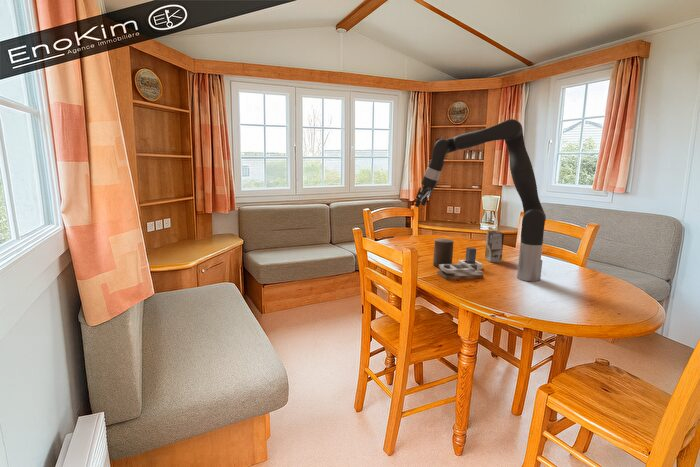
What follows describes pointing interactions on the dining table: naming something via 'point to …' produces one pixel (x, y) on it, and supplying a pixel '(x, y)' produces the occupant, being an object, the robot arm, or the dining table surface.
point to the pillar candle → (443, 252)
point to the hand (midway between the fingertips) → (419, 205)
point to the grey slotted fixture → (459, 271)
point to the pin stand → (479, 265)
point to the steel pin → (470, 255)
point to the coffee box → (494, 246)
